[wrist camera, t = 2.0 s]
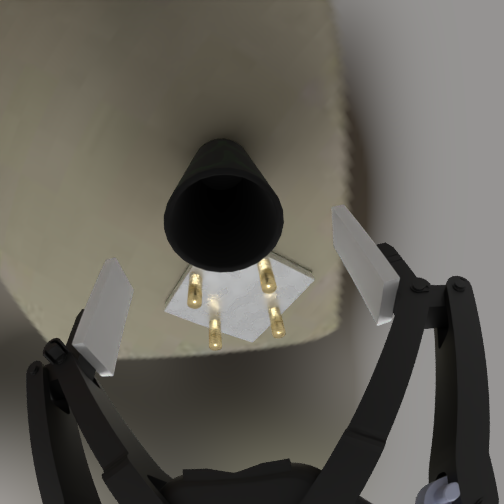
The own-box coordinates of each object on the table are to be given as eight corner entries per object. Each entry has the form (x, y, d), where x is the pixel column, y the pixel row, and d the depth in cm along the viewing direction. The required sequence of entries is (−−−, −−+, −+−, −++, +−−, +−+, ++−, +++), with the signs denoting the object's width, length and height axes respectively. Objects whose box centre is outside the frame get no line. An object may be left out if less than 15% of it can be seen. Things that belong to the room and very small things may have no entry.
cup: (274, 173, 29) (304, 235, 20) (214, 213, 31) (214, 289, 22) (230, 113, 25) (238, 143, 16) (167, 159, 27) (139, 217, 17)
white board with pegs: (216, 223, 32) (216, 253, 28) (311, 272, 38) (323, 302, 33) (165, 303, 38) (160, 334, 34) (251, 334, 44) (255, 364, 39)
